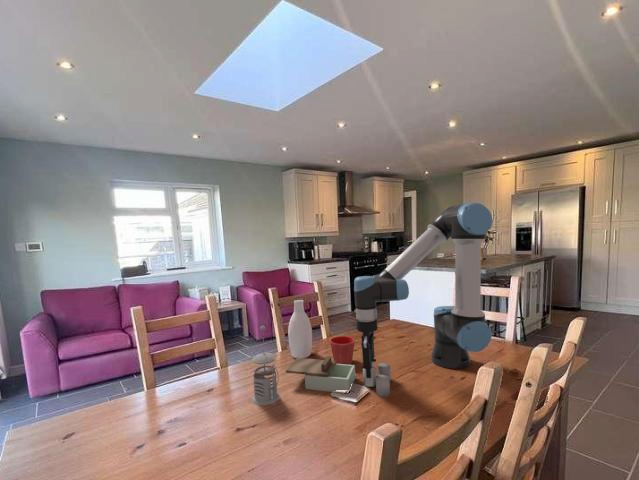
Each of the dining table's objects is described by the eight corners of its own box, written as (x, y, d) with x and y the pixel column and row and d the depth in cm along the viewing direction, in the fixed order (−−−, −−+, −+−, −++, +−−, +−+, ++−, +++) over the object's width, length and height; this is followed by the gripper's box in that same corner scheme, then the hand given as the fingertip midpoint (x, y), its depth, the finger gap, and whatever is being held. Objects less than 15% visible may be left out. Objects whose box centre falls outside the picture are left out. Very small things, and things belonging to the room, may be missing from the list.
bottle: (317, 352, 148) (315, 299, 148) (304, 361, 139) (301, 304, 138) (298, 349, 154) (296, 297, 154) (284, 357, 145) (281, 302, 144)
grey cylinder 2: (391, 378, 119) (390, 363, 119) (390, 383, 115) (389, 368, 115) (379, 377, 121) (378, 362, 120) (377, 382, 116) (377, 367, 116)
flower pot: (355, 356, 141) (354, 335, 141) (355, 367, 130) (354, 344, 130) (331, 357, 142) (330, 335, 142) (330, 367, 131) (329, 344, 131)
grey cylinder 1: (376, 381, 116) (376, 366, 116) (375, 387, 112) (374, 372, 112) (364, 380, 118) (363, 365, 118) (362, 386, 113) (361, 371, 113)
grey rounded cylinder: (390, 391, 110) (389, 375, 109) (389, 397, 105) (388, 381, 105) (377, 389, 111) (376, 374, 111) (375, 396, 106) (374, 380, 106)
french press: (269, 387, 116) (266, 320, 116) (289, 398, 108) (285, 326, 107) (246, 398, 109) (242, 326, 109) (265, 410, 101) (261, 333, 100)
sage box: (355, 378, 120) (354, 365, 120) (348, 393, 109) (348, 379, 109) (315, 374, 125) (315, 361, 125) (305, 388, 114) (304, 375, 114)
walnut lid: (335, 362, 123) (335, 354, 123) (327, 376, 111) (327, 367, 111) (297, 359, 127) (297, 351, 127) (285, 372, 116) (285, 363, 116)
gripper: (360, 313, 124) (364, 371, 124) (351, 325, 108) (356, 393, 108) (379, 313, 121) (383, 373, 122) (373, 326, 105) (378, 395, 106)
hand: (370, 382), depth 115 cm, fingers closed on grey cylinder 1, 4 cm apart
